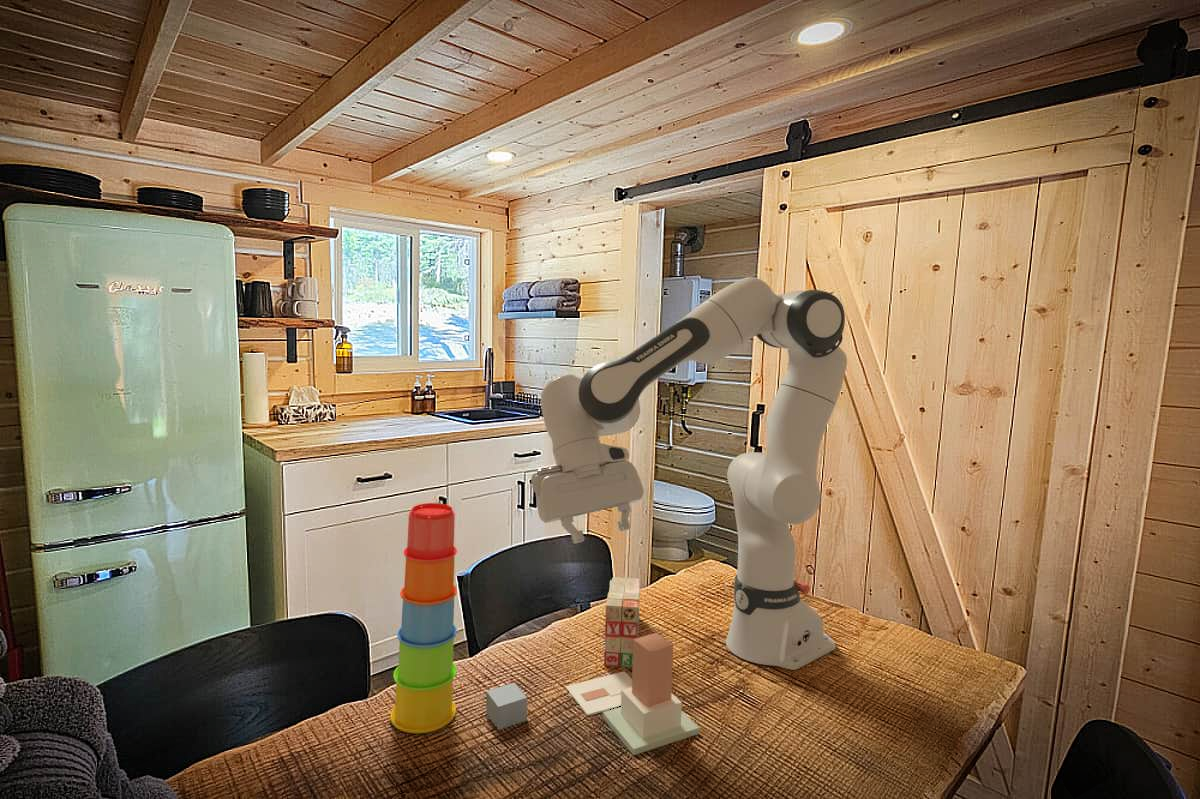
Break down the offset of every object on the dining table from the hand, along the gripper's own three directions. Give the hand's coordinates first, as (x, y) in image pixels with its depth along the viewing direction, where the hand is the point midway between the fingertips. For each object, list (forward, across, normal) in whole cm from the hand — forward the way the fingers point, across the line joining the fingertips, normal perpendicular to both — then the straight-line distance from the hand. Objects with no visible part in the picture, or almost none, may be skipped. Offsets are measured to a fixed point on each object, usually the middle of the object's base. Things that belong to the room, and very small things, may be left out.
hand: (602, 536), depth 107 cm
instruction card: (+25, -2, +10) cm, 27 cm away
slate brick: (+23, -20, +12) cm, 33 cm away
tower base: (+31, -1, 0) cm, 31 cm away
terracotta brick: (+26, -1, -2) cm, 26 cm away
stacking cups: (+19, -32, +17) cm, 41 cm away
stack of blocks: (+19, +10, +24) cm, 32 cm away
